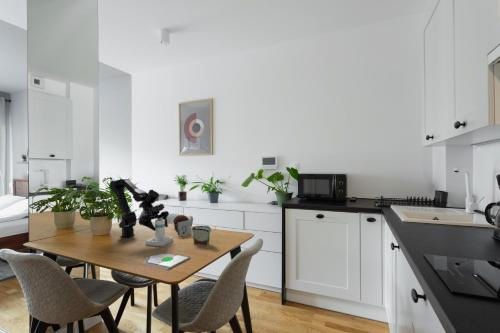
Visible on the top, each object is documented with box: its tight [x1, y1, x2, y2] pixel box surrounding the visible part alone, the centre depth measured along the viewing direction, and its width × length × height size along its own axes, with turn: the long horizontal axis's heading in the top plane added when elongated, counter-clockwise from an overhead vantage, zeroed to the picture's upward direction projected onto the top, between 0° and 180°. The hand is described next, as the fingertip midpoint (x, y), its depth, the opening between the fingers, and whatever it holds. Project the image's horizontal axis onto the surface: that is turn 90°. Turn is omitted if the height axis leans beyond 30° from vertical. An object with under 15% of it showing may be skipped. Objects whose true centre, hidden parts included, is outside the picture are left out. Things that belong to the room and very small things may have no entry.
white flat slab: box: [142, 252, 191, 271], centre depth 122 cm, size 17×22×2 cm
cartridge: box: [154, 218, 166, 242], centre depth 149 cm, size 6×6×14 cm
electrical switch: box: [176, 220, 192, 238], centre depth 167 cm, size 9×5×9 cm, turn 141°
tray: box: [145, 236, 174, 247], centre depth 149 cm, size 11×11×2 cm
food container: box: [191, 225, 212, 247], centre depth 148 cm, size 12×6×10 cm, turn 65°
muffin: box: [172, 214, 190, 231], centre depth 182 cm, size 12×11×10 cm
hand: (161, 228), depth 149 cm, fingers open, 9 cm apart
